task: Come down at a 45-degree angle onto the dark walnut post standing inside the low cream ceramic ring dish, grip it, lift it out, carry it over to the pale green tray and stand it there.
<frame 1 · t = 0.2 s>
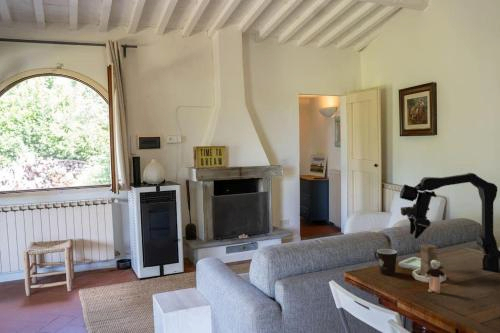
hand: (413, 236, 187), 15 cm above the table, tool tilted 15°, fingers open, 9 cm apart
walnut post: (428, 261, 174), in the ring dish
coffee mug: (386, 272, 184), on the table
tray: (419, 266, 190), on the table
grandmother figurine: (435, 292, 158), on the table
ring dish: (429, 277, 174), on the table
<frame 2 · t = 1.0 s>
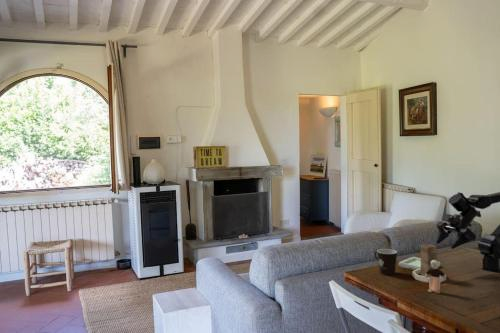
hand: (444, 245, 176), 13 cm above the table, tool tilted 45°, fingers open, 9 cm apart
nothing on the table moved.
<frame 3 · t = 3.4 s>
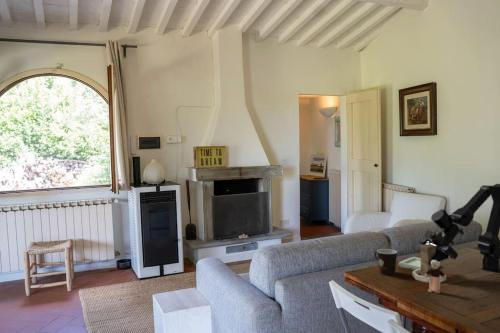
hand: (425, 263, 174), 7 cm above the table, tool tilted 45°, fingers closed on walnut post, 5 cm apart
walnut post: (428, 261, 174), in the ring dish, touching gripper
everything else where it was.
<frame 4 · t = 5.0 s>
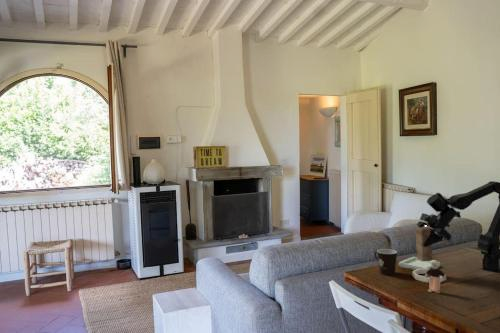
hand: (421, 245, 178), 13 cm above the table, tool tilted 45°, fingers closed on walnut post, 5 cm apart
walnut post: (424, 243, 178), point 14 cm above the table, touching gripper
everything else where it was.
when the fingers open (8 cm above the table, at t = 6.9 s): walnut post drops 1 cm, resting on tray.
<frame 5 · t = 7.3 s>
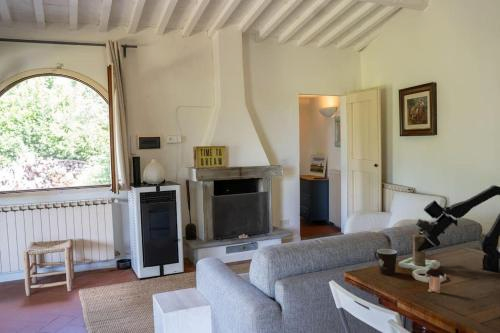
hand: (415, 248, 190), 9 cm above the table, tool tilted 45°, fingers open, 8 cm apart
walnut post: (419, 250, 190), in the tray, point 8 cm above the table
everything else where it was.
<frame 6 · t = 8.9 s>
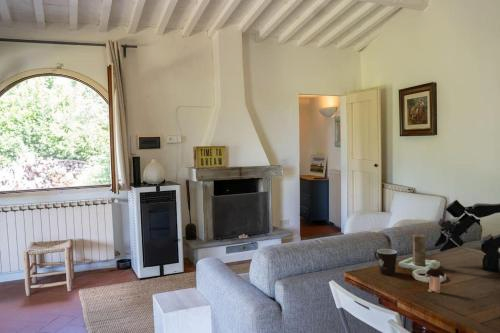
hand: (437, 248, 188), 9 cm above the table, tool tilted 45°, fingers open, 9 cm apart
nothing on the table moved.
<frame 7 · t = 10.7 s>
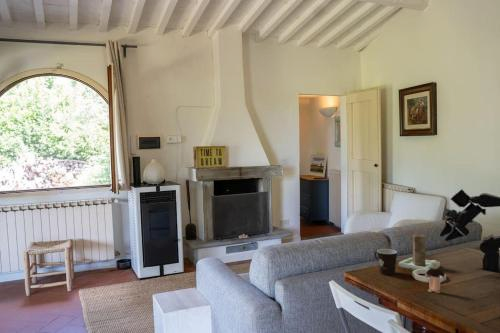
hand: (442, 238, 188), 14 cm above the table, tool tilted 45°, fingers open, 9 cm apart
nothing on the table moved.
at the end: walnut post inside the target area on the tray (0.0 cm from its centre), point 7.8 cm above the tray's base; walnut post tilted 0°; the gripper is holding nothing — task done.
